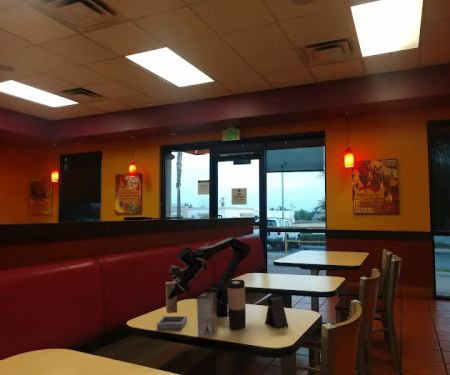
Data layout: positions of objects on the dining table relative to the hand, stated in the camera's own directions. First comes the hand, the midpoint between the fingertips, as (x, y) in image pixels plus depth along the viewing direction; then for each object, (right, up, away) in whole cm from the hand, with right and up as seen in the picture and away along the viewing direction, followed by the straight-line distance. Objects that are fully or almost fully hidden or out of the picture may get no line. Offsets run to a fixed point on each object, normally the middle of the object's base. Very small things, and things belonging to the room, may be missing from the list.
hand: (168, 297), depth 172 cm
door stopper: (+48, -11, -5) cm, 50 cm away
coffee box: (+18, -12, -12) cm, 25 cm away
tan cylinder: (+2, -7, 0) cm, 7 cm away
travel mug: (+31, -12, -6) cm, 34 cm away
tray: (+2, -13, -1) cm, 13 cm away
